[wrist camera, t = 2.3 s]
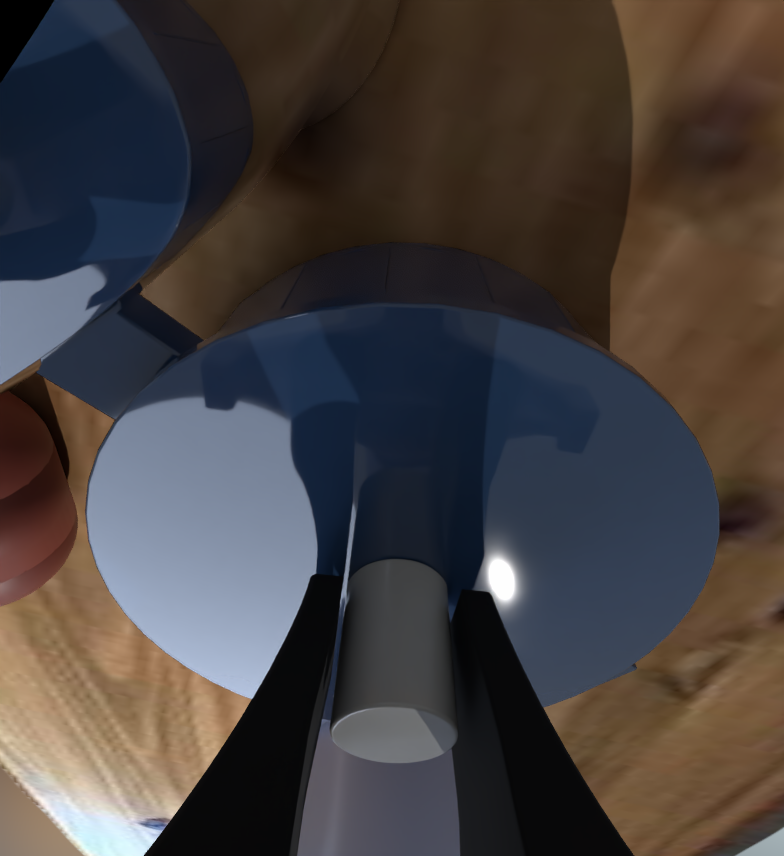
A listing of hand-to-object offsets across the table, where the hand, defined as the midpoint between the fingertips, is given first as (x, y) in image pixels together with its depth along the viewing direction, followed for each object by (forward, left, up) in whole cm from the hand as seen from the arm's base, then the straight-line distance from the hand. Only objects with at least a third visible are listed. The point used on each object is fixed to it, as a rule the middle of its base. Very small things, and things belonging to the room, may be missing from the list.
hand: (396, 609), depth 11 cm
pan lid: (0, 0, -1) cm, 1 cm away
